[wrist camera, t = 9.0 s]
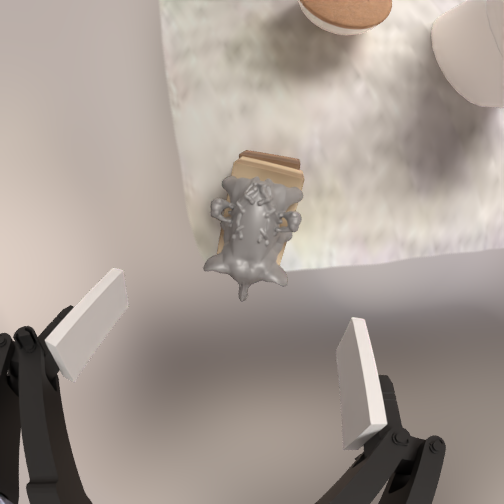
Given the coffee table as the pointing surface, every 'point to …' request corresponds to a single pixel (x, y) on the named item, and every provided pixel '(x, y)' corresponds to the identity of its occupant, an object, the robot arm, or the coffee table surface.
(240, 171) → the light wooden block
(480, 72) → the canister
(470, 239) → the coffee table surface
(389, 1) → the lidded jar
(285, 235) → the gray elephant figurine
